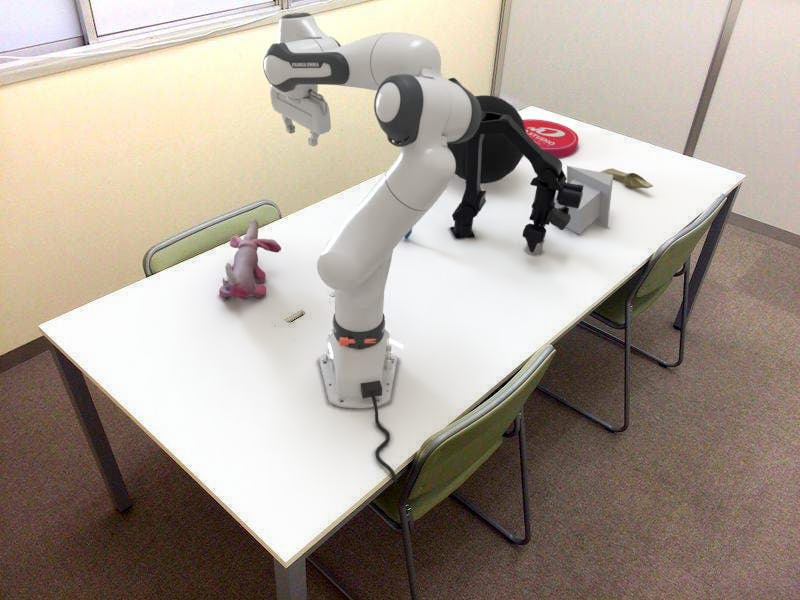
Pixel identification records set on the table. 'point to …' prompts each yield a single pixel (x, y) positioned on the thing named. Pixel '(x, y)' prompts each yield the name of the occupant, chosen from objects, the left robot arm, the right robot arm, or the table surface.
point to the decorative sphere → (491, 145)
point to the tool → (629, 178)
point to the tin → (538, 248)
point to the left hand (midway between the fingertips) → (301, 138)
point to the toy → (247, 265)
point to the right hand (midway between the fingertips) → (534, 244)
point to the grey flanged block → (589, 198)
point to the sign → (552, 137)
